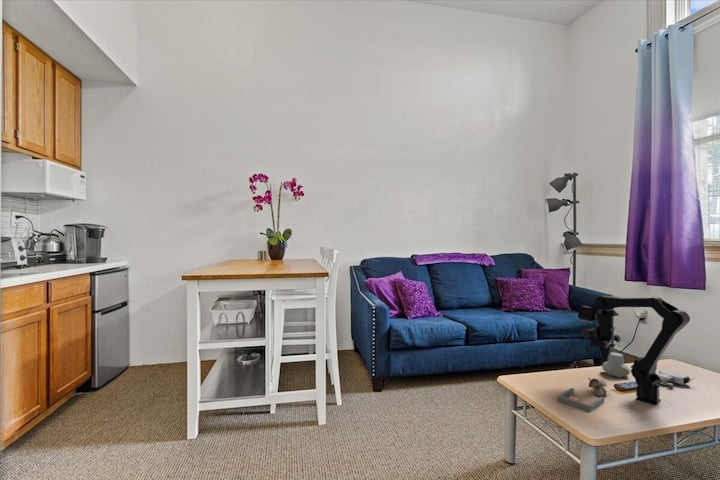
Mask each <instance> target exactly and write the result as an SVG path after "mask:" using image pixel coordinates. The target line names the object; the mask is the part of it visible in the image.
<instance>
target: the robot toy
mask: <svg viewBox="0 0 720 480" xmlns="http://www.w3.org/2000/svg"><path fill="white" fill-rule="evenodd" d="M656 374H657V375H658V376H659V378H660V379H661V380H662V382H661V383H660V385H663V386H671V387H673V386H674V385H675V384H677V385H681V386H683V385H686V384H690V382H692V381H694V379H696V377H693V378H692V379H691V378H690V376H689V375H688V374H686V373H683V372H681V371H677V370H674V369H667V368H663V369H661V370H659V371H658V373H656Z"/></svg>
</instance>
